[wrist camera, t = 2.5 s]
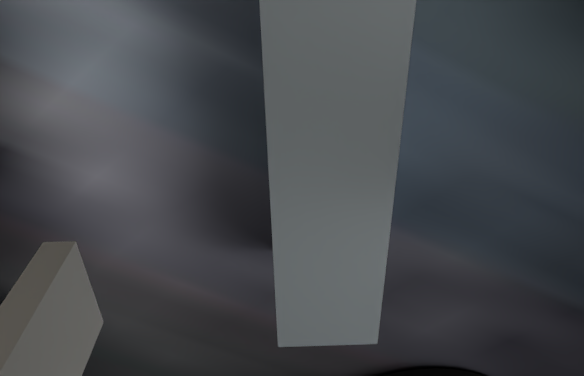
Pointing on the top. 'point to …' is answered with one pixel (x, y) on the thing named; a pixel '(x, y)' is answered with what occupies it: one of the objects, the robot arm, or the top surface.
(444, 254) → the top surface
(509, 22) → the top surface
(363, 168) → the smooth gray tapered block
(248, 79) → the top surface
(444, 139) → the top surface
